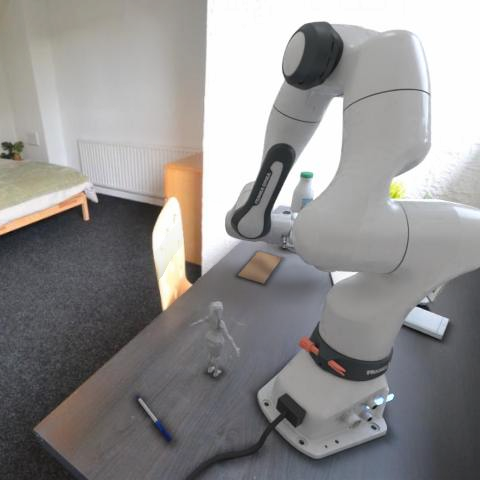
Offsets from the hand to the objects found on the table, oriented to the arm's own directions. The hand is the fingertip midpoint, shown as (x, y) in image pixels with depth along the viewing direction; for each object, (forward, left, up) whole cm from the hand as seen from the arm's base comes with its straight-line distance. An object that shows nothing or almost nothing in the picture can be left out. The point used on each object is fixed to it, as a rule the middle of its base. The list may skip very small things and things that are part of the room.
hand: (336, 236), depth 91 cm
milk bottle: (+29, +36, -15) cm, 48 cm away
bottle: (-1, +1, -9) cm, 10 cm away
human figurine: (-48, -11, -15) cm, 52 cm away
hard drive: (+5, -21, -15) cm, 26 cm away
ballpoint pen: (-64, -14, -15) cm, 67 cm away
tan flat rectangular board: (-10, +16, -15) cm, 24 cm away
